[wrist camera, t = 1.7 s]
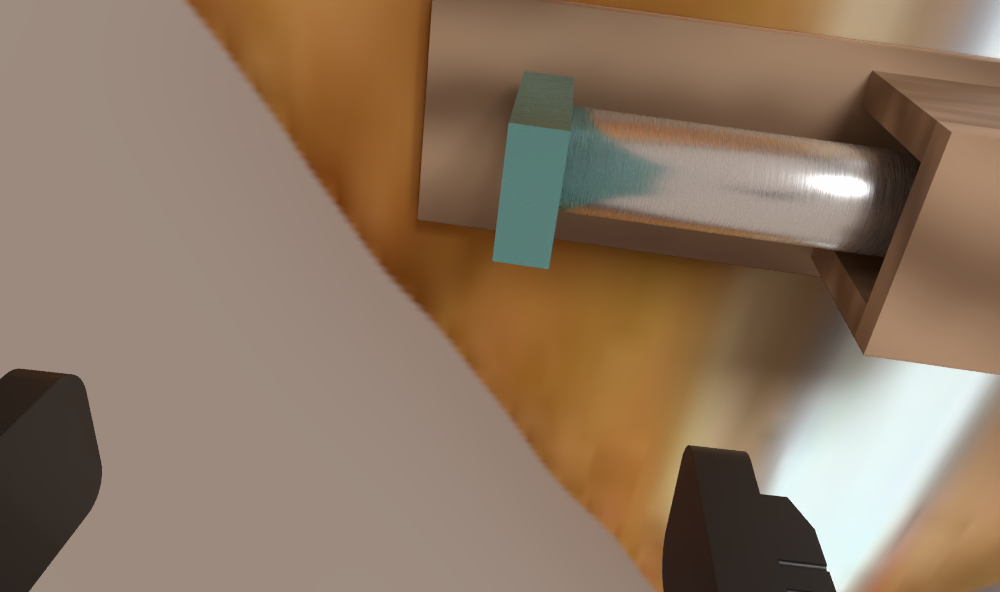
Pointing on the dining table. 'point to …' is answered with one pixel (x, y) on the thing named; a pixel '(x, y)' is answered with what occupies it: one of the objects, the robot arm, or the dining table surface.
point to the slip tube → (687, 178)
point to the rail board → (758, 107)
